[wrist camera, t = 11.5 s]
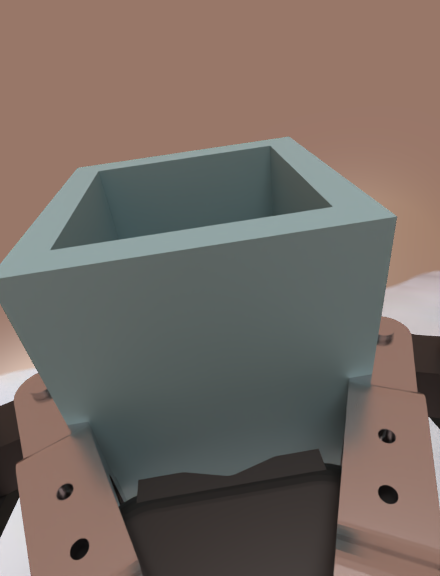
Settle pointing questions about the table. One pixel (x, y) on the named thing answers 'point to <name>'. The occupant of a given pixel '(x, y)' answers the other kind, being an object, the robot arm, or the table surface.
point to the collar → (203, 305)
